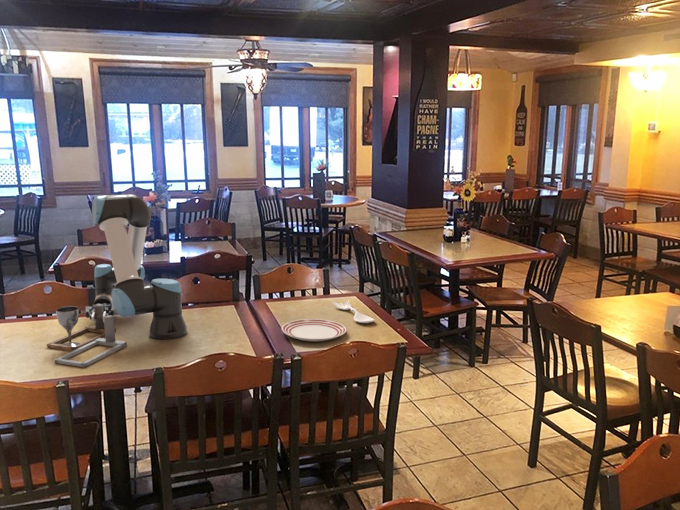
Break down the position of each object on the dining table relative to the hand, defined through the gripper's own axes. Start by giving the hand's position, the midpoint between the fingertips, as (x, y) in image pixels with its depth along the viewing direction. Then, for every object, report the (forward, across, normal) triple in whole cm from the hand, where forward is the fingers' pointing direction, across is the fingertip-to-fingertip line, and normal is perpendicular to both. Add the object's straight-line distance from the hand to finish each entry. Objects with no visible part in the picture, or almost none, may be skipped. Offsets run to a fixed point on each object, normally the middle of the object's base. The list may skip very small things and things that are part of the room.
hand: (98, 319), depth 240 cm
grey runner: (+21, +1, -7) cm, 23 cm away
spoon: (0, -112, -8) cm, 112 cm away
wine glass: (+9, +10, -7) cm, 15 cm away
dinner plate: (+21, -86, -8) cm, 89 cm away
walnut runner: (+3, +6, -7) cm, 10 cm away
